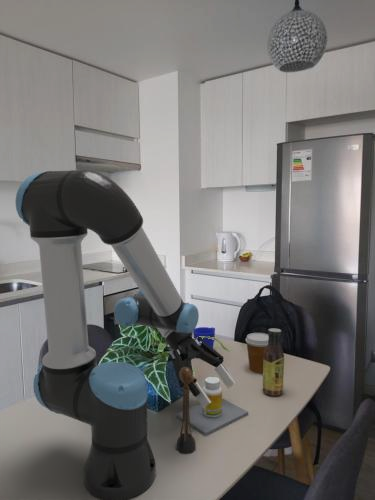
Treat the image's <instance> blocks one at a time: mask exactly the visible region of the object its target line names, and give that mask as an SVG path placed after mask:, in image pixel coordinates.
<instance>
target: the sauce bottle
mask: <svg viewBox="0 0 375 500" xmlns="http://www.w3.org/2000/svg"><path fill="white" fill-rule="evenodd" d="M267 331H268V332H267V334H268V335H269V339H268V345H267V346H266V348H265V350H264V361H263V373H262V392H263V393H264V394H265V395H268V396H271V397H278V396H280V395H282V394H283V389H284V375H285V371H284V370H285V355H284V354H285V353H284V351H283V347H282V337H281V336H282V330H281V329H280V328H276V327H275V328H273V327H272V328H268V329H267Z"/></svg>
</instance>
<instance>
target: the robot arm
mask: <svg viewBox="0 0 375 500" xmlns="http://www.w3.org/2000/svg"><path fill="white" fill-rule="evenodd" d="M15 208H16V213H17V215H18V217H19V218H20V219H22V221H23V223H25V224H26V225H27V226H29V234H30V235H29V237H30V239H31V240H33V241H34V242H35V243H36V244H37V245H38V246H39V258H40V268H41V269H40V271H41V272H40V273H41V281H42V290H43V294H42V295H43V303H44V315H45V325H46V326H45V327H46V339H47V347H48V351H47V352H46V354H44V356H43V357H42V360H41V364H40V365H39V366H38V368H37V373H36V374H34V378H33V387H32V388H33V393H34V396H35V398H36V401H37V402H38V403H39V404H40V405H41V406H42V407H44V408H46V409H48V410H49V411H50V412H53V413H55V414H57V415H58V414H59V415H63V416H65V417H68V418H71V419H73V420H77V421H79V422H82V423H83V424H87V425H89V426H91V427H90V429H91V446H90V447H89V448H90V449H89V452H88V455H87V457H86V462H85V465H84V469H83V483H84V486H85V488H86V490H87V492H88V493H90V495H92V496H94V497H95V498H98V499H101V500H129V499H132V498H135V497H136V496H138V495H141V494H143V493H144V492H145V491H147V490H148V489H149V488H150V487H151V486H152V484H153V482H154V481H155V478H156V476H157V475H156V474H157V473H156V472H157V471H156V469H157V466H156V464H157V463H156V460H155V456H154V452H153V450H152V447H151V445H150V442H149V439H148V394H149V392H148V388H147V378H146V375H145V374H144V372H143V371H142V370H141V369H140V368H139V367H137V366H135V365H134V364H131V363H130V362H129V363H128V362H123V361H118V362H115V361H107V362H101V363H99V364H98V363H97V353H96V350H95V349H94V348H93V347H91V346H90V345H89V336H88V335H89V334H88V322H87V307H86V296H85V294H86V293H85V282H84V281H85V280H84V279H85V278H84V266H83V254H82V253H83V252H82V251H83V250H82V241H83V240H85V238H86V237H87V236H88V230H90V231H91V232H94V233H95V234H96V235H98V238H100V240H101V242H102V243H103V244H105V245H108V246H111V247H112V249H113V250H114V252H115V254H116V255H117V257H118V258H119V260H120V261H121V263H122V265H123V266H124V268H125V269H126V271H127V272H128V274H129V276H131V278H132V279H133V282H134V283H135V284H136V286H137V288H138V289H139V290H138V292H136V294H135V295H134V296H127V297H124V298H121V299H119V300H118V301H117V302H116V303H115V305H114V307H113V315H114V319H115V321H116V322H117V324H119V325H120V326H122V327H126V328H127V327H128V328H129V327H134V326H135V325H138V326H144V327H148V328H149V327H150V328H155V329H157V330H158V332H159V333H160V334H161V337H163V338H165V339H164V340H165V342H166V345H168V346H169V348H170V349H171V350H172V351H171V352H169V354H168V357H169V358H170V360H171V361H172V365H173V369H174V372H175V376H176V378H177V382H178V386H179V387H180V389H181V388H182V389H183V386H184V383H183V382H182V381H181V379H180V375H179V374H180V370H181V369H182V368H183V367H188V368H189V369H190V370H191V371H192V374H193V365H192V360H193V359H199V360H201V361H203V362H205V363H206V364H209V365H211V366H213V367H214V371H215V372H216V374H217V375H218V377H219V379H220V380H222V382H223V383H224V385H225V386H226V388H227V389H229V388H231V387H232V386H234V385H235V384H236V382H235V380H234V379H233V377H232V376H231V375H230V373H229V372H228V370H227V369H226V367H225V366H224V364H223V363H224V356H223V355H222V354H220V353H219V351H217V350H215V349H214V347H213V348H211V347H210V346H209V345H208V344H206V343H205V342H204V341H203V339H202V338H201V337H198V338H197V339H196V340H194V337H193V331H194V329H195V328H197V325H198V323H199V309H198V307H197V306H196V305H195V304H193V303H189V302H184V300H183V298H182V297H181V296H180V293H179V292H178V290H177V288H176V286H175V284H174V282H173V280H172V279H171V277H170V275H169V274H168V271H167V270H166V268H165V266H164V264H163V263H162V260H161V258H160V257H159V256H158V254H157V252H156V250H155V248H154V246H153V244H152V243H151V241H150V239H149V237H148V236H147V234H146V231H145V230H144V228H143V224H144V218H143V215H142V214H141V211H139V209H138V207H137V206H136V204H135V202H134V201H133V199H131V197H130V196H129V195H128V194H127V192H126V191H125V190H124V189H123V188H122V187H121V186H120V185H118V184H117V183H116V182H115V181H114V180H113V179H111V178H110V177H109V176H107V175H105V174H103V173H101V172H99V171H97V170H93V169H86V168H84V169H83V168H82V169H81V168H80V169H74V170H72V169H71V170H46V171H42V172H37V173H33V174H31V175H30V176H28V177H27V178H25V179H24V181H23V182H22V183H20V185H19V187H18V189H17V191H16V194H15ZM193 375H194V374H193ZM188 386H189V392H190V393H191V394H192V396H193V397H194V398H195V399H196V400H197V401H198V403H199V404H201V406H202V407H203V408H204V407H206V406H207V405H208V404H209V403H211V401H210V400H209V398H208V397H207V395H206V394H205V392H204V391H203V387H201V386H200V383H199V382H198V381H197V382H196V383H193V382H191V383H190V384H188Z"/></svg>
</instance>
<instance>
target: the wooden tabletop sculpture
mask: <svg viewBox="0 0 375 500" xmlns="http://www.w3.org/2000/svg"><path fill="white" fill-rule="evenodd" d="M192 373H193V370H192V371H191V370H190V369H189V368H188V367H183V368H182V369H181V370H180V374H179V375H180V379H181V381H182V382H183V383H184V386H183V387H182V396H183V397H182V411H183V418H182V420H181V428H180V433H179V435H178V437H177V439H176V443H175V445H176V446H175V450H176V451H177V452H178V453H179V454H184V455H187V454H192V453H194V452H195V451H196V439H195V437H194V436H193V434H192V428H191V426H190V415H189V408H190V390H189V386H188V384H190V383H191V382H193V383H196V382H198V380H197V378H196V377H194V374H192ZM188 422H189V425H188ZM183 430H184V432H183Z"/></svg>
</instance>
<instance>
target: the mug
mask: <svg viewBox="0 0 375 500" xmlns="http://www.w3.org/2000/svg"><path fill="white" fill-rule="evenodd" d="M192 335H193V339H194V338H197V337H199V336H210V337H214V338H215V337H216V336H215V335H216V327H207V326H206V327H203V326H199V327H196V328H195V329H194V331H192ZM203 341H204V342H205V343H206V344H208V345H209V346H210V347H211V348H213V349H214V343H215V339H214V340H212V339H208V338H203Z"/></svg>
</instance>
